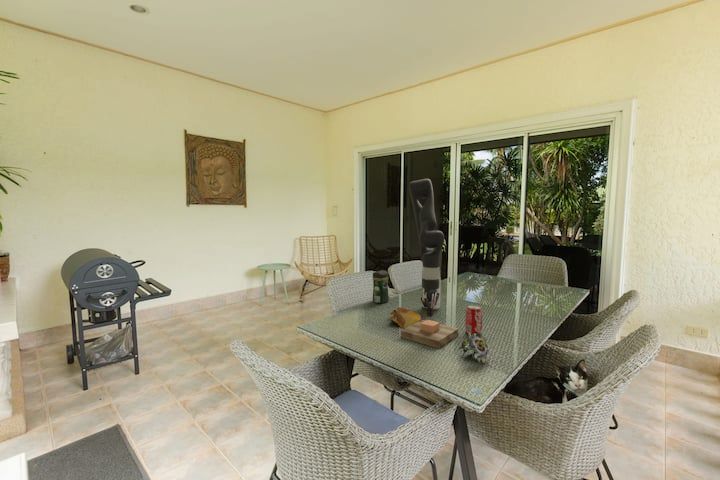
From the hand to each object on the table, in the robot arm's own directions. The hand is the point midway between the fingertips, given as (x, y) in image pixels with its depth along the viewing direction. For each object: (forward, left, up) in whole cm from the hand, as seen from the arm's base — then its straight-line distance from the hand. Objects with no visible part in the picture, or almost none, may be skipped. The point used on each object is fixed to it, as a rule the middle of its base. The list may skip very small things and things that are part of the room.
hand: (429, 316), depth 147 cm
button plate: (0, 0, -9) cm, 9 cm away
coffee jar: (-29, -49, -9) cm, 58 cm away
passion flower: (+9, +23, -9) cm, 26 cm away
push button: (0, 0, -6) cm, 6 cm away
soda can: (-16, +13, -9) cm, 23 cm away
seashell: (-8, -19, -10) cm, 22 cm away
